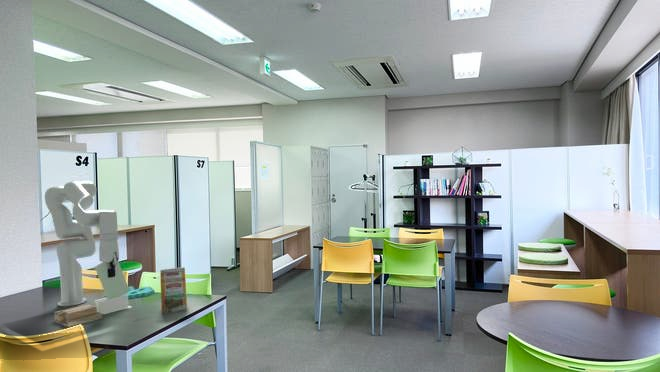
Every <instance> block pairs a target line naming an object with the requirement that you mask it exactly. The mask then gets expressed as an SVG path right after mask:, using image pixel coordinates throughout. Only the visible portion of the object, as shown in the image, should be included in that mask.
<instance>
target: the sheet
mask: <svg viewBox="0 0 660 372" xmlns="http://www.w3.org/2000/svg"><path fill="white" fill-rule="evenodd" d="M110 262H112V261H110ZM94 269H95V272H96V274H97V277H98V278H99V279H98V280H99V281H100V283H101V286H102V288H103V289H102V290H103V291H104V294H105V295H106V297H107V299H112V298H116V297H120V296H121V295H123V294H125V293H127V292H129V291H130V290H129V288H128V287H129V285H128V282H127V280H126V278H125V275H124V272H123V270H122V267H121V265H120V262H119V260H118V261H117V265H115V277H110V278H108V270H107V269H108V263H105V262H100V264H97V265H95V266H94Z"/></svg>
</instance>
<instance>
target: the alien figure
mask: <svg viewBox="0 0 660 372" xmlns="http://www.w3.org/2000/svg"><path fill="white" fill-rule="evenodd" d="M128 288H129V290H130V291H129V292H127V293H125V294H124V295H128V300H129V299H130V300H131V299H136V298H142V297H148V296H151V295H153V294H156V293H155V289H154V288H152V287H151V286H142V287H139V288H137V289H136V288H135V287H134V286H128ZM104 298H107V297H106V294H105V295H104Z"/></svg>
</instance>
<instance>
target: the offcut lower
mask: <svg viewBox="0 0 660 372" xmlns="http://www.w3.org/2000/svg"><path fill="white" fill-rule="evenodd" d="M96 314H98V312H96V313H92V314H88V315H84V316H80V317H76V318H72V319H66V318H64V317H63V323H64V324H67V325H68V322H69V321H73V320H76V319H80V318H84V317H88V316H92V315H96Z"/></svg>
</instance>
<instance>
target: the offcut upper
mask: <svg viewBox="0 0 660 372" xmlns="http://www.w3.org/2000/svg"><path fill="white" fill-rule="evenodd" d="M85 305H86V306H83V305H81V306H82V307H79V306H77V307H78V308H74V307H73V308H74V309H70V308H69V309H70V310H66V309H64V310H65V311H63V317H64V318H66V319H72V318H76V317H80V316H84V315H88V314H92V313H96V312H97V307H96V306H95V305H92V304H85ZM97 313H98V312H97Z"/></svg>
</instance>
